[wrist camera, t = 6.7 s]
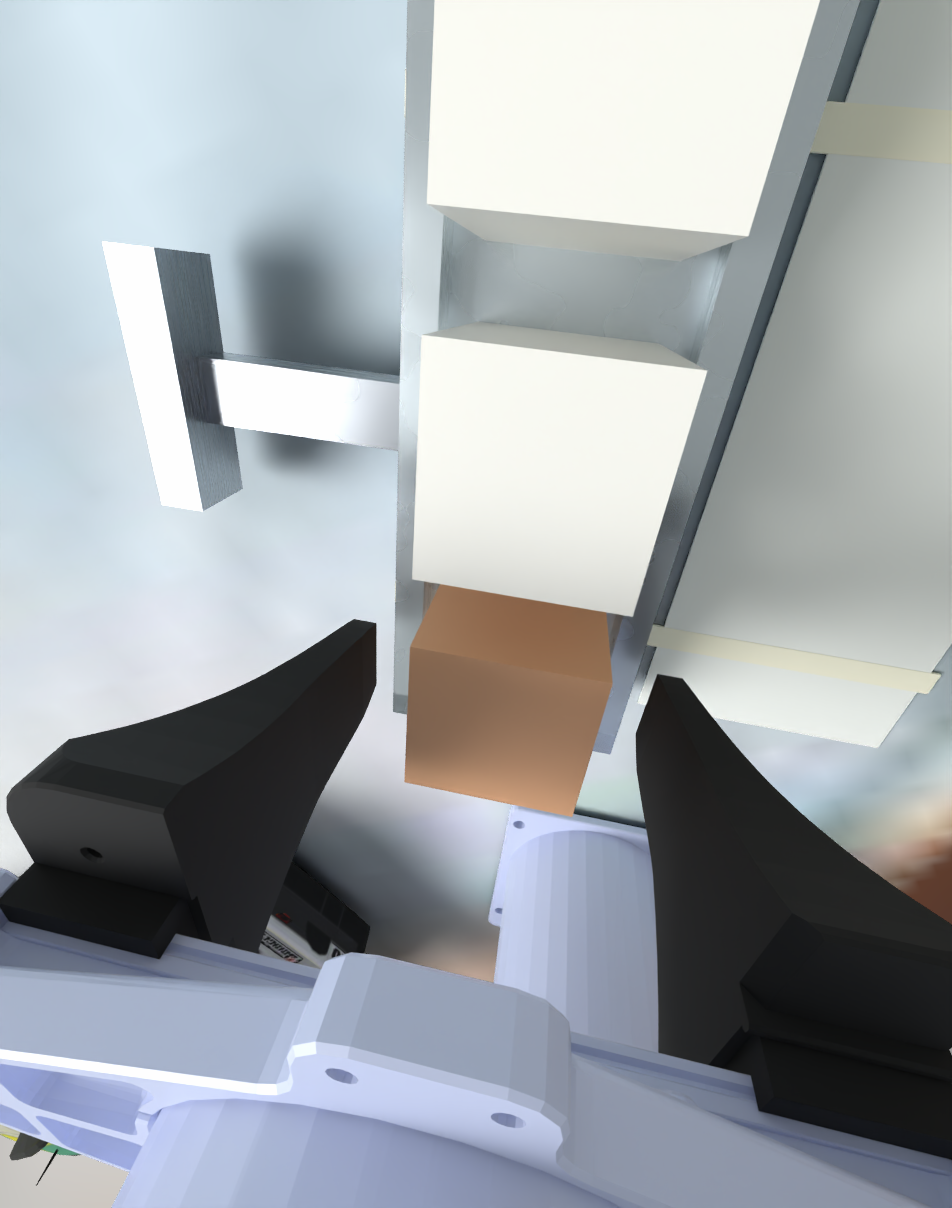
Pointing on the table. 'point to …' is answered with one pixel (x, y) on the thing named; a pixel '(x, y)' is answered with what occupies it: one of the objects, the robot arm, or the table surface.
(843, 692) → the track
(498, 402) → the part
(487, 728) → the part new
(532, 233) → the part
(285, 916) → the racing car
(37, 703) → the table surface
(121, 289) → the beam with t-bracket
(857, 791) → the table surface
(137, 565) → the table surface
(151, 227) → the table surface
